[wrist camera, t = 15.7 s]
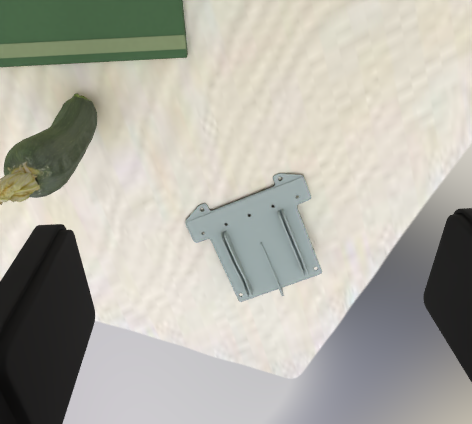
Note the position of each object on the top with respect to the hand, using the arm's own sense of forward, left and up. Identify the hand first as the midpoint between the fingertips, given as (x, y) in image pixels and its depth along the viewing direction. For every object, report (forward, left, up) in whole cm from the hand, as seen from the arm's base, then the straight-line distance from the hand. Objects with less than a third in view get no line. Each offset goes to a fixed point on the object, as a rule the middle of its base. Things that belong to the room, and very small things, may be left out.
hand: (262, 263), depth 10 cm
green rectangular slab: (-4, -14, -34) cm, 37 cm away
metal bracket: (+23, +3, -34) cm, 41 cm away
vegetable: (+6, -15, -34) cm, 38 cm away
